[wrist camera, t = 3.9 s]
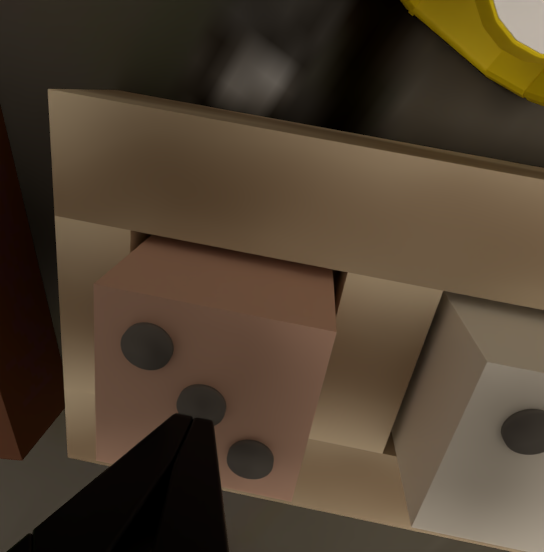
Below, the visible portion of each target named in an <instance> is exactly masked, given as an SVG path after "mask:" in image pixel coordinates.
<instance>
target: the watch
mask: <svg viewBox="0 0 544 552" xmlns="http://www.w3.org/2000/svg"><path fill="white" fill-rule="evenodd" d="M400 1H401V3H402V4H403V5H404V7H405V8H406V9H407V10H409V11H408V13H409V14H411V15H412V16H413V15H415V16H416V17H417V18H418V19H420V20H421V21H422V22H423V23H424V24H425V25H427V26H428V27H429V28H430V29H431V30H432V31H434V32H435V33H436V34H437V35H438V36H440V37H441V38H442V39H443V40H444V41H445V42H447V43H448V44H449V45H450V46H451V47H452V48H454V49H455V50H456V51H457V52H458V53H459V54H461V55H462V56H463V57H464V58H465V59H466V60H468V61H469V62H470V63H471V64H472V65H473V66H475V67H476V68H477V69H478V70H479V71H480V72H482V73H483V74H484V75H485V77H487V78H489V79H490V80H492V81H494V82H496V83H497V84H499V85H501V86H503V87H504V88H506V89H508V90H510V91H511V92H513V93H515V94H516V95H518V96H520V97H522V98H524V97H525V98H526V99H527V100H528V101H530V102H533V103H536V104H539V105H541V106H544V0H400Z"/></svg>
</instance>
